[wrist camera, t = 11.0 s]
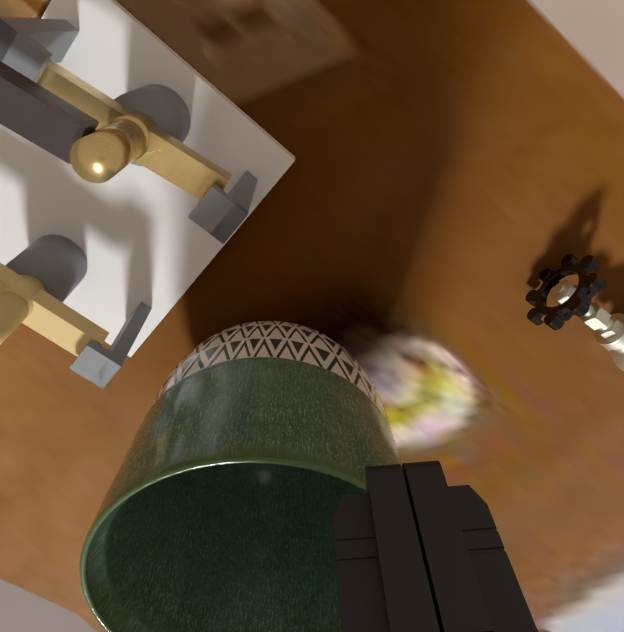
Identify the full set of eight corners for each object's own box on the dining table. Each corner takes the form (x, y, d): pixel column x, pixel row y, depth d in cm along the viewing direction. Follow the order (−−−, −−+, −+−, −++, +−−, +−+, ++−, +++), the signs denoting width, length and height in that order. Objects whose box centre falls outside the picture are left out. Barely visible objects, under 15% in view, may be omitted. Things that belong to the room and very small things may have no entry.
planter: (178, 456, 54) (111, 691, 35) (151, 275, 44) (41, 460, 25) (375, 454, 54) (415, 685, 35) (388, 275, 45) (453, 456, 26)
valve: (664, 316, 47) (572, 240, 44) (715, 356, 41) (613, 272, 38) (604, 368, 50) (512, 299, 46) (645, 413, 44) (543, 339, 40)
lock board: (134, 350, 48) (72, 468, 35) (-67, 221, 42) (-228, 307, 29) (295, 156, 40) (292, 217, 27) (77, -33, 34) (-55, -68, 22)
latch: (234, 169, 34) (216, 207, 27) (215, 201, 35) (194, 245, 28) (23, 36, 30) (-61, 39, 23) (9, 75, 31) (-76, 89, 24)
